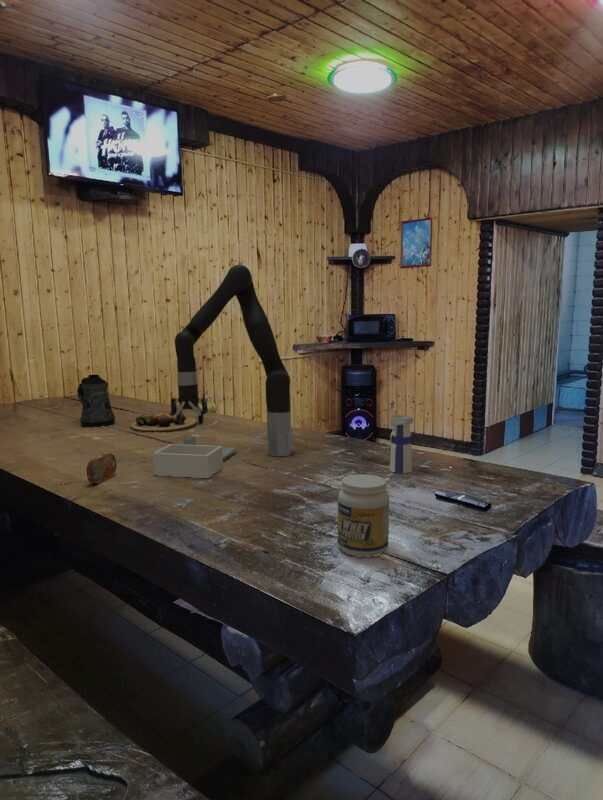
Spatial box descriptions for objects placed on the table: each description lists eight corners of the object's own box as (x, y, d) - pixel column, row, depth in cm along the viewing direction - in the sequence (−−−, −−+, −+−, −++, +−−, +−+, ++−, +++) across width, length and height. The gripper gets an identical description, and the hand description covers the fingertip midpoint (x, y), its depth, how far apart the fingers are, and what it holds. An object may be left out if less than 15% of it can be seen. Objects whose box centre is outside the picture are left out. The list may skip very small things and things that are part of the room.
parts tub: (222, 467, 208) (222, 446, 206) (208, 478, 194) (207, 456, 193) (171, 464, 212) (170, 443, 211) (154, 475, 199) (152, 453, 197)
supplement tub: (330, 555, 134) (330, 485, 131) (345, 535, 145) (345, 471, 142) (382, 562, 129) (383, 490, 127) (393, 542, 141) (394, 475, 138)
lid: (236, 453, 229) (236, 435, 228) (223, 463, 215) (223, 444, 214) (188, 451, 233) (188, 433, 232) (173, 460, 219) (172, 441, 218)
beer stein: (108, 428, 279) (105, 377, 275) (69, 428, 279) (65, 377, 276) (119, 421, 296) (117, 373, 292) (82, 421, 296) (79, 373, 292)
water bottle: (386, 473, 199) (387, 402, 195) (391, 466, 207) (392, 398, 203) (409, 475, 196) (411, 403, 192) (413, 468, 204) (415, 399, 200)
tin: (94, 487, 187) (92, 462, 185) (85, 486, 187) (83, 461, 186) (117, 474, 201) (116, 450, 200) (109, 473, 202) (108, 450, 201)
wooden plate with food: (166, 418, 305) (165, 402, 304) (210, 423, 287) (209, 407, 286) (116, 430, 279) (115, 413, 278) (162, 437, 261) (161, 419, 260)
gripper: (208, 381, 223) (211, 422, 225) (174, 382, 226) (177, 422, 228) (201, 384, 215) (203, 426, 218) (166, 384, 219) (169, 426, 221)
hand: (190, 424), depth 223 cm, fingers open, 8 cm apart
